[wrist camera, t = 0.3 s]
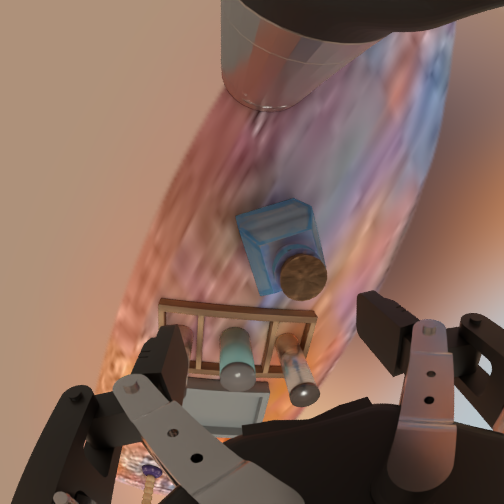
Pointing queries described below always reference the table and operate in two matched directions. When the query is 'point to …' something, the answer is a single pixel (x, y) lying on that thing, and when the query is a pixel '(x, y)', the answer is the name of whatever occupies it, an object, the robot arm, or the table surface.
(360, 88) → the table surface
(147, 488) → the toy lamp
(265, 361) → the rack
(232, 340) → the cylinder
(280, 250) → the perfume bottle
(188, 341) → the glass vial
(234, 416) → the dish
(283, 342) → the canister
